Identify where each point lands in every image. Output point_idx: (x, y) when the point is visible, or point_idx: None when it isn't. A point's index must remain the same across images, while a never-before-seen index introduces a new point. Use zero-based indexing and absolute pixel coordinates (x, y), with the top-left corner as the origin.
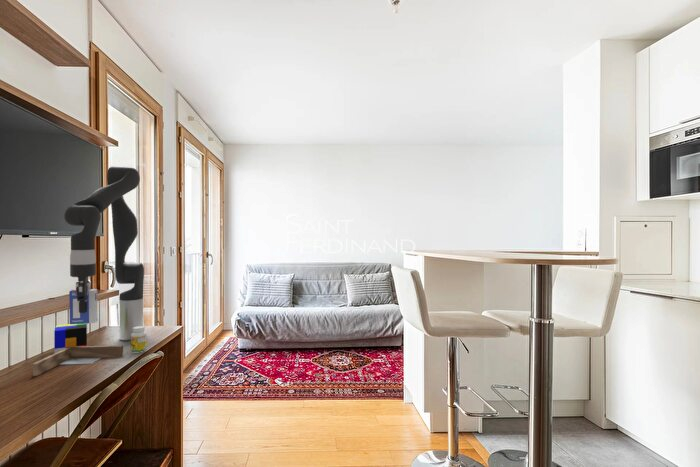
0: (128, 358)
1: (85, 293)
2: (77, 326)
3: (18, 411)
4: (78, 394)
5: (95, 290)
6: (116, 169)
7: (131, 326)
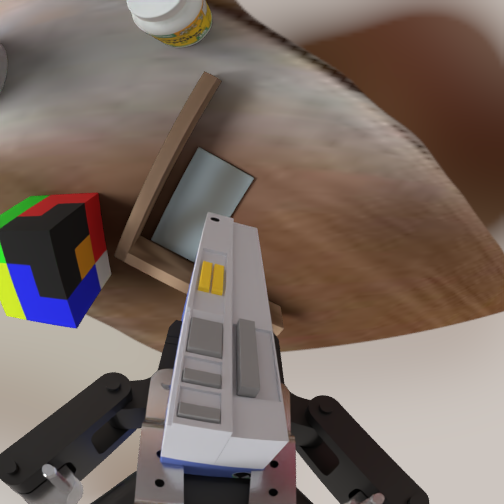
0: (255, 61)
1: (369, 456)
2: (26, 261)
3: (470, 308)
4: (478, 228)
5: (234, 426)
6: None
7: None
